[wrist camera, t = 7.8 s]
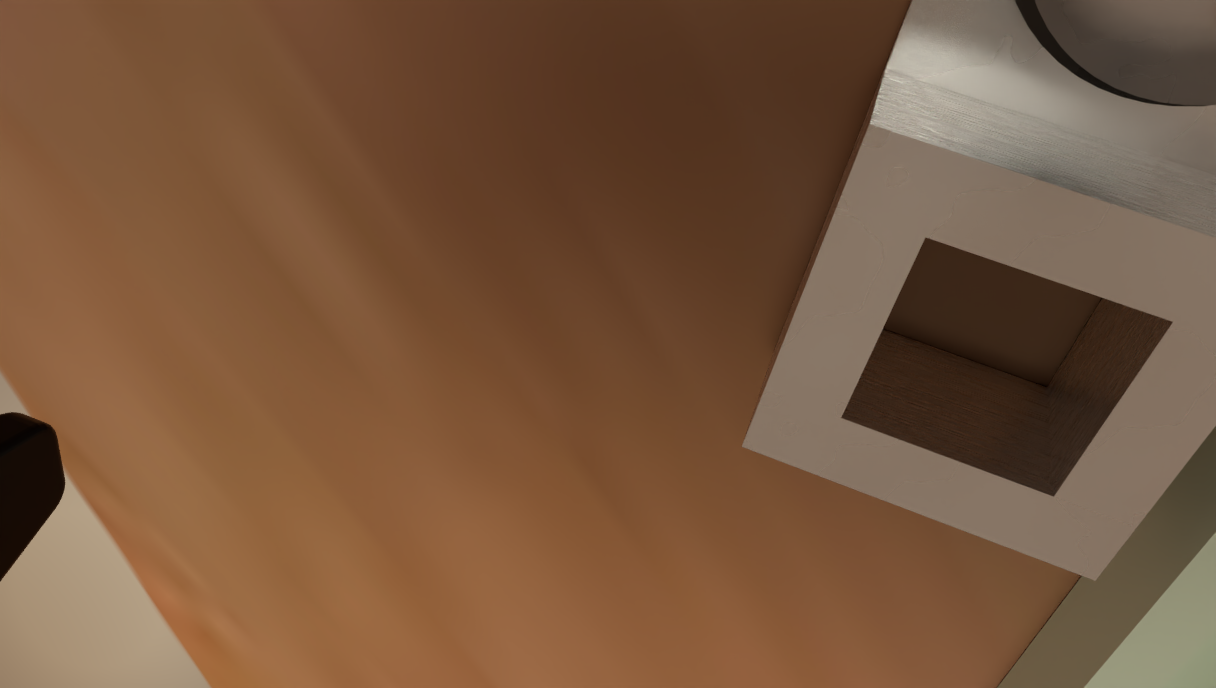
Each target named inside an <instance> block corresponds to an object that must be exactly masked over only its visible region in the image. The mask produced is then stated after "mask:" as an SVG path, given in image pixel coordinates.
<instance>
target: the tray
mask: <svg viewBox="0 0 1216 688" xmlns="http://www.w3.org/2000/svg"><path fill="white" fill-rule="evenodd" d="M997 688H1216V426H1215V427H1214V429H1213V430H1212V431H1211V432H1210V434H1209V435H1208V436H1207V438H1206V439H1205V440H1204V441H1203V443H1202V444H1201V445H1200V447H1199V448H1198V449H1197V450H1196V452H1195V453H1194V454H1193V456H1192V457H1191V458H1190V459H1189V461H1188V462H1187V463H1186V465H1185V466H1184V467H1183V469H1182V470H1181V471H1180V472H1179V474H1178V475H1177V476H1176V478H1175V479H1174V480H1173V481H1172V483H1171V484H1170V485H1169V487H1168V488H1167V489H1166V490H1165V492H1164V493H1163V494H1162V496H1161V497H1160V498H1159V499H1158V501H1157V502H1156V503H1155V505H1154V506H1153V507H1152V508H1151V510H1150V511H1149V512H1148V514H1147V515H1146V516H1145V518H1144V519H1143V520H1142V521H1141V523H1140V524H1139V525H1138V527H1137V528H1136V529H1135V530H1134V532H1133V533H1132V534H1131V536H1130V537H1129V538H1128V539H1127V541H1126V542H1125V543H1124V545H1123V546H1122V547H1121V548H1120V550H1119V551H1118V552H1117V554H1116V555H1115V556H1114V558H1113V559H1112V560H1111V561H1110V563H1109V564H1108V565H1107V567H1106V568H1105V569H1104V570H1103V572H1102V573H1101V574H1100V576H1099V577H1098V578H1097V579H1096V581H1094V580H1092V579H1089V578H1087V577H1084V576H1082V577H1081V578H1080V579H1079V581H1078V582H1077V583H1076V585H1075V586H1074V587H1073V588H1072V590H1071V591H1070V592H1069V594H1068V595H1067V596H1066V598H1065V599H1064V600H1063V602H1062V603H1061V604H1060V606H1059V607H1058V608H1057V610H1056V611H1055V612H1054V614H1053V615H1052V616H1051V617H1050V619H1049V620H1048V621H1047V623H1046V624H1045V625H1044V627H1043V628H1042V629H1041V631H1040V632H1039V633H1038V635H1037V636H1036V637H1035V639H1034V640H1033V641H1032V642H1031V644H1030V645H1029V646H1028V648H1027V649H1026V650H1025V652H1024V653H1023V654H1022V656H1021V657H1020V658H1019V660H1018V661H1017V662H1016V664H1015V665H1014V666H1013V668H1012V669H1011V670H1010V671H1009V673H1008V674H1007V675H1006V677H1005V678H1004V679H1003V681H1002V682H1001V683H1000V685H999V686H998V687H997Z"/></svg>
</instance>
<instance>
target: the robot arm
mask: <svg viewBox="0 0 1216 688" xmlns="http://www.w3.org/2000/svg"><path fill="white" fill-rule="evenodd" d="M64 488H65V477H64V471H63V466H62V461H61V455H60V450H59V444H58V439H57V435H56V432H55V430H54V429H53V428H52V427H51V425H49V424H47V423H45V422H42V421H40V420H37V419H35V418H32V417H30V416H27V415H24V414H21V413H14V412H11V413H5V414H1V415H0V581H1V580H2V578H3V577H4V576H5V574H6V573H7V572H8V570H9V569H10V568H11V567H12V565H13V564H14V563H15V561H16V560H17V559H18V557H19V556H20V555H21V553H22V552H23V551H24V549H25V548H26V547H27V545H28V544H29V543H30V541H31V540H32V539H33V538H34V536H35V535H36V534H37V532H38V531H39V529H40V528H41V527H42V525H43V524H44V523H45V521H46V520H47V519H48V518H49V516H50V515H51V514H52V512H53V511H54V510H55V508H56V507H57V505H58V504H59V502H60V500H61V498H62V495H63V492H64Z"/></svg>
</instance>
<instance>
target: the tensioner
mask: <svg viewBox="0 0 1216 688" xmlns="http://www.w3.org/2000/svg"><path fill="white" fill-rule="evenodd" d="M925 237H926V238H929V239H932V240H935V241H938V242H941V243H944V244H947V245H950V246H953V247H955V248H958V249H961V250H964V251H967V252H970V253H973V254H976V255H979V256H982V257H985V258H988V259H991V260H993V261H996V262H999V263H1002V264H1005V265H1008V266H1011V267H1014V268H1017V269H1020V270H1023V271H1026V272H1029V273H1032V274H1034V275H1037V276H1040V277H1043V278H1046V279H1049V280H1052V281H1055V282H1058V283H1061V284H1064V285H1067V286H1070V287H1072V288H1075V289H1078V290H1081V291H1084V292H1087V293H1090V294H1093V295H1096V296H1099V297H1102V299H1101V301H1100V303H1099V304H1098V306H1097V308H1096V309H1095V311H1094V312H1093V314H1092V316H1091V317H1090V319H1089V320H1088V322H1087V324H1086V325H1085V327H1084V329H1083V330H1082V332H1081V333H1080V335H1079V337H1078V338H1077V340H1076V341H1075V343H1074V345H1073V346H1072V348H1071V350H1070V351H1069V353H1068V354H1067V356H1066V358H1065V359H1064V361H1063V362H1062V364H1061V366H1060V367H1059V369H1058V371H1057V372H1056V374H1055V375H1054V377H1053V379H1052V380H1051V382H1050V384H1049V385H1048V387H1044V386H1041V385H1038V384H1035V383H1032V382H1030V381H1027V380H1024V379H1021V378H1018V377H1016V376H1013V375H1010V374H1007V373H1004V372H1002V371H999V370H996V369H993V368H990V367H988V366H985V365H982V364H979V363H976V362H974V361H971V360H968V359H965V358H962V357H959V356H957V355H954V354H951V353H948V352H945V351H943V350H940V349H937V348H934V347H931V346H929V345H926V344H923V343H920V342H917V341H915V340H912V339H909V338H906V337H903V336H901V335H898V334H895V333H892V332H889V331H886V330H884V329H883V327H884V325H885V323H886V321H887V319H888V316H889V314H890V312H891V310H892V308H893V306H894V304H895V301H896V299H897V297H898V295H899V293H900V291H901V289H902V286H903V284H904V282H905V280H906V278H907V276H908V274H909V272H910V269H911V267H912V265H913V263H914V261H915V259H916V257H917V254H918V252H919V250H920V248H921V246H922V244H923V242H924V239H925ZM1215 426H1216V0H911V2H910V4H909V7H908V10H907V12H906V15H905V17H904V20H903V22H902V25H901V27H900V30H899V33H898V35H897V38H896V40H895V43H894V45H893V48H892V50H891V53H890V56H889V58H888V61H887V63H886V66H885V68H884V71H883V73H882V76H881V79H880V81H879V84H878V86H877V89H876V91H875V94H874V96H873V99H872V102H871V104H870V107H869V109H868V112H867V114H866V117H865V119H864V122H863V125H862V127H861V130H860V132H859V135H858V137H857V140H856V142H855V145H854V148H853V150H852V153H851V155H850V158H849V160H848V163H847V165H846V168H845V171H844V173H843V176H842V178H841V181H840V183H839V186H838V188H837V191H836V194H835V196H834V199H833V201H832V204H831V206H830V209H829V211H828V214H827V217H826V219H825V222H824V224H823V227H822V229H821V232H820V234H819V237H818V240H817V242H816V245H815V247H814V250H813V252H812V255H811V257H810V260H809V263H808V265H807V268H806V270H805V273H804V275H803V278H802V280H801V283H800V286H799V288H798V291H797V293H796V296H795V298H794V301H793V303H792V306H791V309H790V311H789V314H788V316H787V319H786V321H785V324H784V326H783V329H782V332H781V334H780V337H779V339H778V342H777V344H776V347H775V349H774V352H773V355H772V358H771V361H770V364H769V367H768V370H767V373H766V376H765V379H764V382H763V385H762V388H761V391H760V394H759V397H758V400H757V403H756V406H755V409H754V412H753V415H752V418H751V421H750V424H749V427H748V430H747V433H746V436H745V439H744V442H743V445H742V447H744V448H747V449H749V450H752V451H754V452H757V453H760V454H762V455H765V456H768V457H770V458H773V459H776V460H778V461H781V462H783V463H786V464H789V465H791V466H794V467H797V468H799V469H802V470H805V471H807V472H810V473H812V474H815V475H818V476H820V477H823V478H826V479H828V480H831V481H834V482H836V483H839V484H841V485H844V486H847V487H849V488H852V489H855V490H857V491H860V492H863V493H865V494H868V495H870V496H873V497H876V498H878V499H881V500H884V501H886V502H889V503H892V504H894V505H897V506H899V507H902V508H905V509H907V510H910V511H913V512H915V513H918V514H921V515H923V516H926V517H928V518H931V519H934V520H936V521H939V522H942V523H944V524H947V525H950V526H952V527H955V528H957V529H960V530H963V531H965V532H968V533H971V534H973V535H976V536H978V537H981V538H984V539H986V540H989V541H992V542H994V543H997V544H1000V545H1002V546H1005V547H1007V548H1010V549H1013V550H1015V551H1018V552H1021V553H1023V554H1026V555H1029V556H1031V557H1034V558H1036V559H1039V560H1042V561H1044V562H1047V563H1050V564H1052V565H1055V566H1058V567H1060V568H1063V569H1065V570H1068V571H1071V572H1073V573H1076V574H1079V575H1081V576H1084V577H1087V578H1089V579H1092V580H1094V581H1096V579H1097V578H1098V577H1099V576H1100V574H1101V573H1102V572H1103V570H1104V569H1105V568H1106V567H1107V565H1108V564H1109V563H1110V561H1111V560H1112V559H1113V558H1114V556H1115V555H1116V554H1117V552H1118V551H1119V550H1120V548H1121V547H1122V546H1123V545H1124V543H1125V542H1126V541H1127V539H1128V538H1129V537H1130V536H1131V534H1132V533H1133V532H1134V530H1135V529H1136V528H1137V527H1138V525H1139V524H1140V523H1141V521H1142V520H1143V519H1144V518H1145V516H1146V515H1147V514H1148V512H1149V511H1150V510H1151V508H1152V507H1153V506H1154V505H1155V503H1156V502H1157V501H1158V499H1159V498H1160V497H1161V496H1162V494H1163V493H1164V492H1165V490H1166V489H1167V488H1168V487H1169V485H1170V484H1171V483H1172V481H1173V480H1174V479H1175V478H1176V476H1177V475H1178V474H1179V472H1180V471H1181V470H1182V469H1183V467H1184V466H1185V465H1186V463H1187V462H1188V461H1189V459H1190V458H1191V457H1192V456H1193V454H1194V453H1195V452H1196V450H1197V449H1198V448H1199V447H1200V445H1201V444H1202V443H1203V441H1204V440H1205V439H1206V438H1207V436H1208V435H1209V434H1210V432H1211V431H1212V430H1213V429H1214V427H1215Z"/></svg>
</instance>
